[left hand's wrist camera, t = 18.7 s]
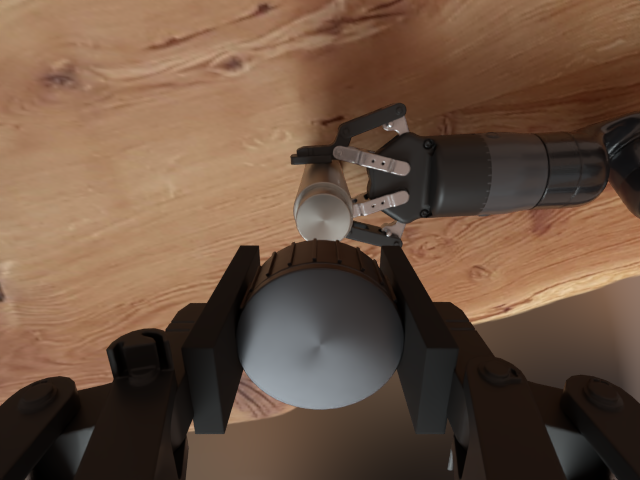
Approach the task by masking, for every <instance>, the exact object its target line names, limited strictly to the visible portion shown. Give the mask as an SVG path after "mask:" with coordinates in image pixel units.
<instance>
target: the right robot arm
mask: <svg viewBox="0 0 640 480" xmlns="http://www.w3.org/2000/svg"><path fill="white" fill-rule="evenodd" d="M405 114H406V107H405V105H404V104H402V103H394V104H391V105H388V106H385V107H383V108H380V109H378V110H375V111H373V112H370V113H368V114H365V115H363V116H360V117H358V118H355V119H353V120H350V121H348V122H345V123H342V124H341V125H340V126H339V128H338V133H337V136H336V139H335V141H334V142H333V143H332V144H330V145H320V146H303V147H301V148H299V149H297V154H293V155H291V164H292V165H299V164H317V163H332V160H342V161H346V162H350V163H354V164H358V165H360V166H364V167H367V173H368V177H369V181H368V185H367V192H365V193H362V194H359V195H357V196H356V197H354V198H352V199H351V200H352V203H353V208H354V213H353V218H354V217H357V216H361V215H362V216H365V215H368V214H371V213H374V212H377V211H382V212H384V213H385V214H387V215H388V216H390V217H391V218H393V219H394V222H392V223H385V224H383V225H382V226H381V227H377V226H373V225H369V224H365V223H361V222H357V221H353V224H352V227H351V230H350V231H349V233H348V234H347V236H346V237H345V238H348V239H352V240H356V241H360V242H364V243H368V244H372V245H376V246H380V247H381V246H400V247H402V245H403V243H402V241H401V236H402V234H403V231H404V228H405V225H406V224H408V223H411V222H412V221H414V220H416V219H419V218H435V217H454V216H475V215H477V216H488V215H495V214H505V213H511V212H516V211H523V210H542V209H560V208H573V207H579V206H582V205H586V204H588V203H590V202H592V201H593V200H595V199H596V198H597V197H598V196H599V195H600V194H601V193H602V192H603V190H604V189H605V187H606V185H607V182H608V181H609V183H610V184H611V185H612V187H613V188H614V190H615V191H616V193H617V194H618V195H619V197H620V198H621V200H622V201H623V203H624V204H625V205H626V207H627V208H628V209H629V211H630V212H631V213H633V214H634V215H635V216H636V217H638V218H639V219H640V111H635V112H631V113H628V114H625V115H621V116H618V117H615V118H612V119H609V120H606V121H602V122H599V123H596V124H592V125H589V126H587V127H584V128H581V129H578V130H574V131H571V132H546V133H530V134H529V133H512V132H489V133H478V134H458V135H440V136H418V135H416V134H415V133H412V132H409V129H408V126H407V122H406V118H405ZM379 126H381V127H382V128H383V129H384V130H386V131H392V130H394V131H395V132H396V133H397V135H396V136H395V137H394V138H393V139H391V140H390V141H389V142H388V143H386V144H385V145H384V146H383V147H381V148H380V149H379V150H377V151H376V152H375V151H371V150H367V149H363V148H357V147H353V146H349V143H350V140H351V137H353V136H355V135H358V134H361V133H363V132H366V131H368V130H371V129H373V128H376V127H379ZM368 198H369V199H368ZM372 205H373V206H372Z"/></svg>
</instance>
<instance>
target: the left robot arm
mask: <svg viewBox="0 0 640 480" xmlns="http://www.w3.org/2000/svg"><path fill="white" fill-rule="evenodd" d="M259 266H260V255H259V246H240V247H239V249H238V251H237V252H236V254H235V256H234V258H233V259H232V261H231V263H230V264H229V266H228V268H227V270H226V271H225V273H224V275H223V276H222V278H221V280H220V282H219V283H218V285H217V287H216V289H215V290H214V292H213V294H212V295H211V297H210V299H209V301H208V302H207V303H190V304H188V305H187V306H185V307H184V308H183V309H181V310H180V311H178V313H177V314H176V315H175V317H174V318H173V320H172V321H171V323H170V324H169V325H168V327H167V328H166V331H163V330H160V329H155V328H150V329H141V330H136V331H132V332H130V333H128V334H125V335H123V336H121V337H119V338H118V339H116V340H115V341H114V342H112V343H111V344H110V346H109V347H108V348H107V349H106V351H107V355H108V359H109V362H110V366H111V370H112V374H113V378H114V380H113V382H112V383H109V384H105V385H101V386H97V387H92V388H88V389H83V390H79V391H77V388H76V385H75V382H74V381H73V380H72V379H70V378H69V377H62V376H58V377H50V378H46V379H42V380H39V381H36V382H34V383H32V384H30V385H28V386H26V387H24V388H22V389H20V390H19V391H17V392H16V393H15V394H14V395H12V396H11V397H10V398H8V399H7V400H6V401H5V402H4V403H3V404H2V405H1V406H0V480H25V478H26V479H27V480H185V479H186V469H187V459H188V449H189V448H188V441H187V435H186V434H187V432H188V429H189V427H190V424H191V422H192V419H193V422H194V428H195V434H224V433H225V430H226V427H227V423H228V420H229V416H230V413H231V410H232V406H233V403H234V399H235V396H236V393H237V389H238V386H239V382H240V379H241V376H242V372H243V367H242V366H241V363H240V361H239V358H238V355H237V347H236V337H235V330H236V325H237V321H238V318H239V316H240V313H241V311H240V310H239V308H240V305H241V303H242V300H243V298H244V296H245V293H246V291H247V288H248V286H249V283H250V282H251V283H252V281H253V279H254V276H255V274H256V271H257V269H258V267H259ZM380 269H381V271H382V272H383V274H384V276H385V275H387V276H388V279H389V281H390V284H391V286H392V289H393V291H394V294H395V296H396V299H397V301H398V302H396V305H397V308H398V310H399V313H400V315H401V318H402V322H403V327H404V333H405V340H404V350H403V354H402V358H401V361H400V363H399V365H398V367H397V372H398V375H399V378H400V382H401V385H402V388H403V392H404V395H405V399H406V402H407V406H408V409H409V412H410V416H411V419H412V422H413V426H414V429H415V433H416V434H445V429H446V423H447V418H448V420H449V422H450V424H451V427H452V429H453V432H454V435H453V441H452V446H451V452H450V457H449V463H448V470H452V469H453V468H454V478H455V480H614V477H616V478H617V479H618V480H640V404H639V403H638V402H637V401H636V400H635V399H634V398H633V397H632V396H631V395H629V394H628V393H627V392H625V391H624V390H623V389H621V388H620V387H618V386H616V385H614V384H612V383H610V382H608V381H606V380H603V379H600V378H597V377H594V376H587V375H576V376H571V377H570V378H569V379H567V380H566V383H565V386H564V389H559V388H554V387H550V386H546V385H541V384H537V383H533V382H530V381H527V379H526V378H525V376H524V375H523V373H522V372H521V371H520V370H519V369H518V368H517V367H515V366H514V365H513V364H511V363H509V362H507V361H505V360H503V359H501V358H497V357H495V356H494V355H493V353H492V352H491V351H490V349H489V348H488V346H487V345H486V344H485V342H484V341H483V339H482V338H481V336H480V335H479V334H478V332H477V331H476V330H475V328H474V326H473V325H472V324H471V322H469V319H468V318H467V317H466V315H465V314H464V312H463V311H462V310H461V309H459V308H458V307H457V306H455V305H454V304H452V303H451V302H432V300H431V298H430V297H429V295H428V293H427V292H426V290H425V288H424V286H423V285H422V283H421V281H420V280H419V278H418V276H417V274H416V273H415V271H414V269H413V267H412V266H411V264H410V262H409V261H408V259H407V257H406V255H405V254H404V252H403V250H402V249H401V247H400V246H381V258H380Z"/></svg>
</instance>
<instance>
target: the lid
mask: <svg viewBox="0 0 640 480" xmlns="http://www.w3.org/2000/svg"><path fill="white" fill-rule="evenodd" d="M396 302H398V301H397V299H396V296H395V294H394V291H393V289H392V286H391V284H390V281H389V279H388V276H387V275H385V276H384V274H383V272H382V271H381V269H380V268H379V267H378V264H377V261H376V260H375V259H374V260H372V259H371V258H370V257H369V256H367V255H366V254H365V253H363V252H362V251H360V248H358V247H357V248H354V247H352V246H350V245H347V244H345V243H341V242H339V240H336V241H330V240H317V238H314V239H313V240H309V241H303V242H299V243H295V242H293V243H292V244H291V245H290V246H288V247H286V248H284V249H282V250H280V251H278V252H277V253H276V252H273V254H272V256H271V257H270V258H269V259H268V260H267V261H266V262H265V263H264V264H263V265H262V266H259V267H258V269H257V271H256V274H255V276H254V279H253V281H252V283H251V282H250V283H249V286H248V288H247V291H246V293H245V296H244V298H243V300H242V303H241V305H240V308H239V310H240V311H241V313H240V316H239V318H238V321H237V325H236V330H235V337H236V347H237V355H238V358H239V361H240V363H241V366H242V367H243V369H244V371H245V372H246V374H247V375H248V377H249V378H250V379H251V380H252V382H253V383H254V384H255V385H257V386H258V387H259V388H260V389H261V390H262V391H264V392H265V393H266V394H268V395H270V396H271V397H273V398H275V399H277V400H279V401H281V402H283V403H286V404H289V405H292V406H296V407H301V408H306V409H334V408H340V407H345V406H348V405H351V404H354V403H357V402H359V401H361V400H364V399H365V398H367V397H369V396H371V395H372V394H374V393H375V392H376V391H378V390H379V389H380V388H381V387H382V386H384V385H385V384H386V383H387V382H388V380H389V379H390V378H391V377H392V375H393V374H394V372H395V371H396V369H397V367H398V365H399V363H400V361H401V358H402V354H403V350H404V340H405V333H404V327H403V322H402V318H401V315H400V313H399V310H398V308H397V305H396Z"/></svg>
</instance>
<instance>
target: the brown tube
mask: <svg viewBox="0 0 640 480" xmlns="http://www.w3.org/2000/svg"><path fill="white" fill-rule="evenodd" d="M293 212H294V218H295V221H296V226H297V229H298V231H299V233H300V234H301V236H302V237H303V238H304V239H305V240H306V241H309V240H313V239H314V238H317V240H330V241H336V240H339V241H341V240H342V239H343V238H345V237H346V236H347V234H348V233H349V231H350V230H351V227H352V224H353V213H354V208H353V203H352V200H351V196H350V193H349V190H348V187H347V184H346V180H345V177H344V174H343V171H342V168H341V165H340V163H339V161H338V160H332V163H317V164H306V167H305V170H304V173H303V177H302V180H301V183H300V186H299V190H298V193H297V196H296V200H295V203H294V209H293Z"/></svg>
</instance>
